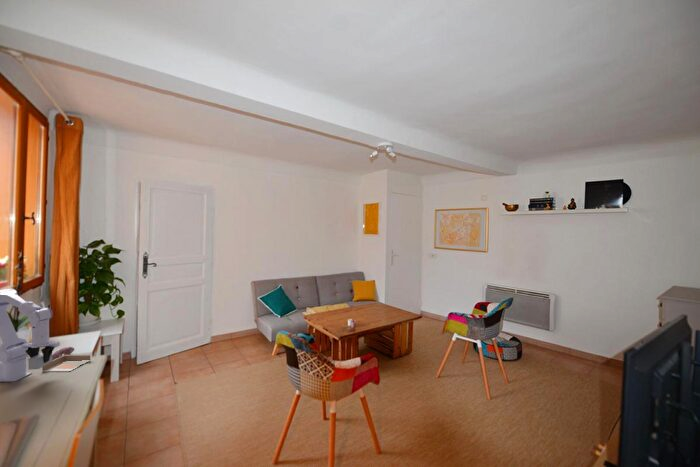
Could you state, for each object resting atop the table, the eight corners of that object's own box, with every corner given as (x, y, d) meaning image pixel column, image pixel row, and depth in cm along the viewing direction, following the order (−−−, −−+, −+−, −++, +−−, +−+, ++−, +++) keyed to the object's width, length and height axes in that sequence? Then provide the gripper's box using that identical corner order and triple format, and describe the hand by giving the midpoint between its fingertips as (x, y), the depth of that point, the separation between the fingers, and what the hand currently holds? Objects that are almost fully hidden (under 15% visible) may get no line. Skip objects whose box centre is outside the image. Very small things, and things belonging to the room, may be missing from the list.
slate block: (28, 369, 139) (28, 358, 138) (42, 362, 146) (42, 351, 146) (38, 369, 139) (38, 358, 139) (52, 361, 147) (52, 351, 147)
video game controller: (53, 364, 163) (57, 353, 162) (47, 360, 163) (51, 349, 163) (73, 357, 172) (77, 346, 172) (67, 352, 173) (71, 342, 172)
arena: (42, 371, 152) (42, 364, 151) (64, 361, 164) (64, 354, 163) (70, 371, 152) (70, 365, 152) (90, 361, 164) (90, 354, 164)
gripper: (15, 338, 137) (15, 367, 138) (51, 336, 140) (51, 364, 140) (28, 332, 144) (28, 360, 145) (62, 331, 147) (63, 358, 147)
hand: (40, 362), depth 143 cm, fingers closed on slate block, 4 cm apart
